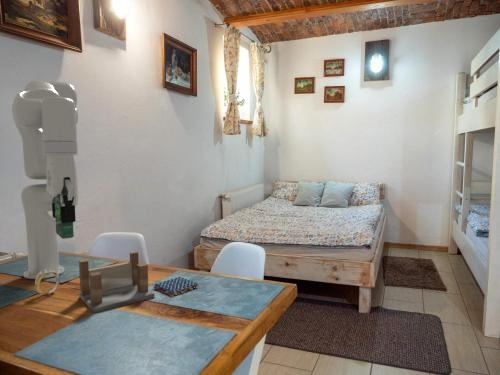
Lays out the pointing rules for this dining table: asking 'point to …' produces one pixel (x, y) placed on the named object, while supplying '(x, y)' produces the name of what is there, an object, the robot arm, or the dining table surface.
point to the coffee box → (61, 228)
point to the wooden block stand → (114, 284)
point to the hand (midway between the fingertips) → (63, 219)
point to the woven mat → (175, 286)
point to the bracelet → (43, 276)
